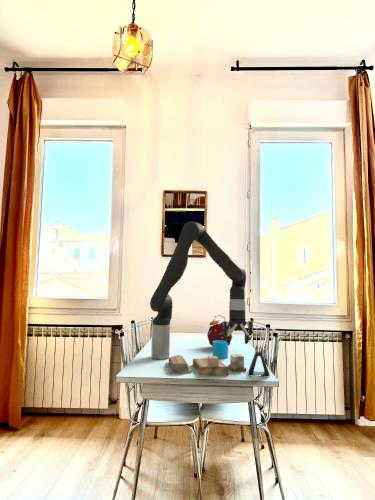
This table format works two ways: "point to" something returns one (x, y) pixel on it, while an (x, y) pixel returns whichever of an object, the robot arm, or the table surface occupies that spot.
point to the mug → (220, 349)
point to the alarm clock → (217, 331)
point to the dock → (209, 368)
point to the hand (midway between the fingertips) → (237, 343)
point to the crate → (213, 361)
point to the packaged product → (178, 365)
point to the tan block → (237, 363)
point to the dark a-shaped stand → (251, 369)
